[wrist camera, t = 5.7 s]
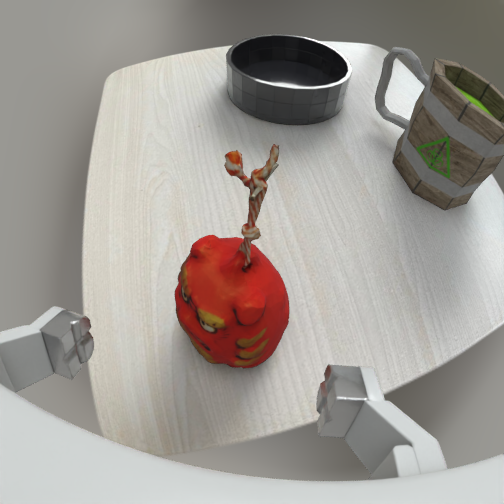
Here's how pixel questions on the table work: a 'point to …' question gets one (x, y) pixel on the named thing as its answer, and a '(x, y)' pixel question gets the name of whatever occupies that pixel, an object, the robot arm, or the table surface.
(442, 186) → the mug
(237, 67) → the pan
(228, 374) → the table surface
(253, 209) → the red clay folk toy
